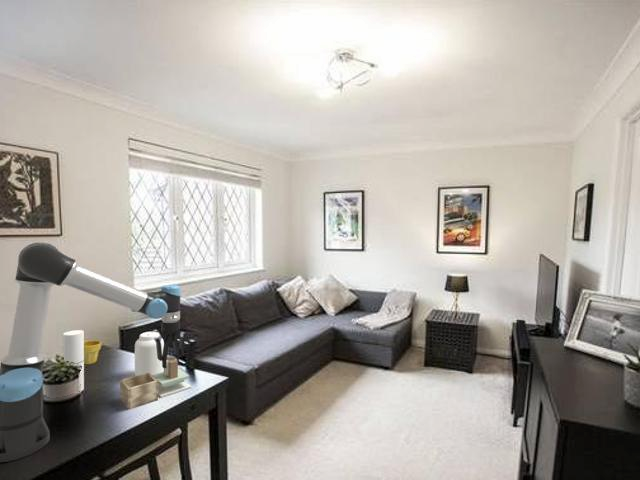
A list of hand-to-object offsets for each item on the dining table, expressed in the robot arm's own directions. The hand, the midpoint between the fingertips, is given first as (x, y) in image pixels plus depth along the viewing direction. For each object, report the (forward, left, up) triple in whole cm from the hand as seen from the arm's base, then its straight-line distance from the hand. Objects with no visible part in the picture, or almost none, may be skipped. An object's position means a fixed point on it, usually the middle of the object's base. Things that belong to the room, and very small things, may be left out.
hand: (170, 373), depth 153 cm
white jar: (-2, +20, -7) cm, 21 cm away
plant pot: (-19, +57, -7) cm, 60 cm away
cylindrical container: (-31, +25, -7) cm, 40 cm away
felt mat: (0, 0, -6) cm, 6 cm away
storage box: (-14, -2, -6) cm, 15 cm away
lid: (0, 0, -4) cm, 4 cm away
